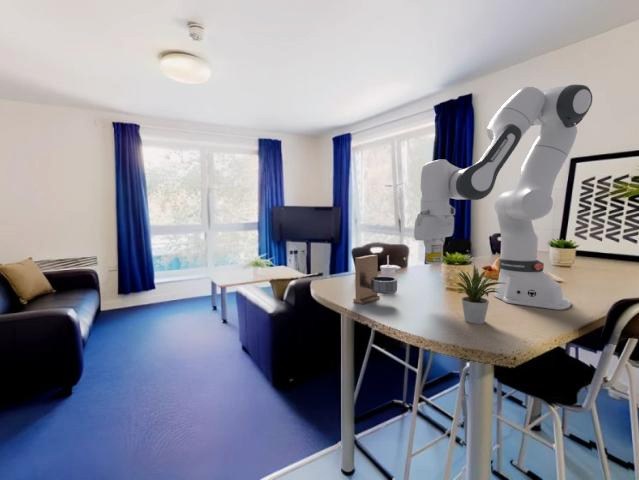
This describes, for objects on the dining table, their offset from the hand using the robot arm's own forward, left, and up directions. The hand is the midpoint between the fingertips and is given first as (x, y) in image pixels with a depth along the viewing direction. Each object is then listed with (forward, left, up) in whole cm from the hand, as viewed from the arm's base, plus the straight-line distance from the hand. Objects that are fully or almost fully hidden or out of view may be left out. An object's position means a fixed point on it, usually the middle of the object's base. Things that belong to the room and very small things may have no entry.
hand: (434, 251), depth 106 cm
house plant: (-16, +7, -18) cm, 25 cm away
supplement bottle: (0, 0, -4) cm, 4 cm away
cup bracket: (+15, +11, -18) cm, 26 cm away
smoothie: (+23, -7, -18) cm, 30 cm away
